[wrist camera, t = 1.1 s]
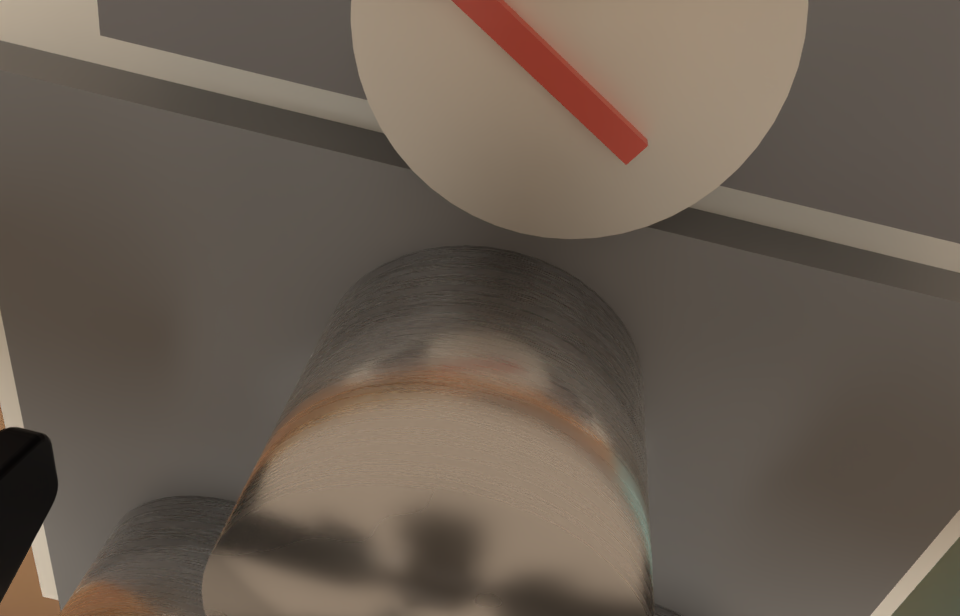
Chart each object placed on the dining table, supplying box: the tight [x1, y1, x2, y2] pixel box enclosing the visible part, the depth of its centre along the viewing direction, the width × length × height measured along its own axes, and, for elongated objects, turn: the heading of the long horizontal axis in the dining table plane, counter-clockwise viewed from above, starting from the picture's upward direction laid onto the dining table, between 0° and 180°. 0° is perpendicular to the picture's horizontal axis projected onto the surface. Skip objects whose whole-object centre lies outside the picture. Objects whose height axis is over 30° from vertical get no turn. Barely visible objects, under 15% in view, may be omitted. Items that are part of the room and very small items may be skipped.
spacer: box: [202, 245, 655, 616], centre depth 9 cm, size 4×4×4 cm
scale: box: [0, 0, 960, 616], centre depth 13 cm, size 17×16×4 cm
